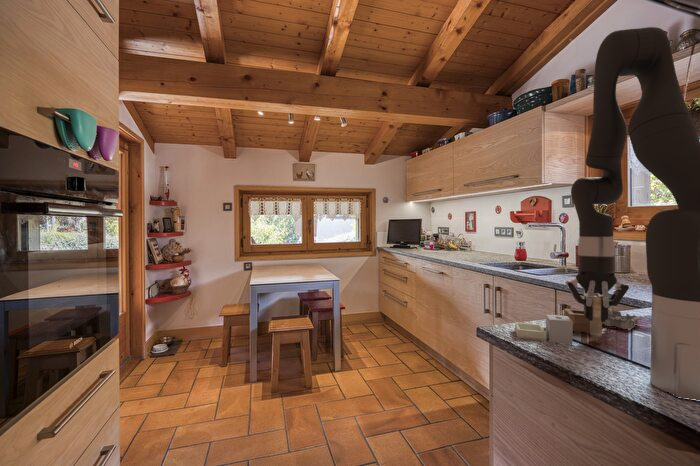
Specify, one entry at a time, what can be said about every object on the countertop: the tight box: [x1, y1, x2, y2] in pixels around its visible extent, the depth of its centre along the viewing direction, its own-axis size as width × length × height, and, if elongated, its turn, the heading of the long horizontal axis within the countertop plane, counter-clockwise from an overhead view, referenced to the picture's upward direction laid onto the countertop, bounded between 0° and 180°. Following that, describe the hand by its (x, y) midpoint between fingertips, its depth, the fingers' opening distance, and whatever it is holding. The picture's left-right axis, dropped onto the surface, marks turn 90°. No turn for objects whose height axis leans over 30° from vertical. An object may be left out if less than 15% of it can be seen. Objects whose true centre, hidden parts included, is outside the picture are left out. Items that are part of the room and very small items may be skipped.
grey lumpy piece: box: [602, 307, 641, 330], centre depth 96 cm, size 11×8×4 cm
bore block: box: [563, 308, 590, 334], centre depth 92 cm, size 6×6×5 cm
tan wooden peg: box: [589, 295, 603, 338], centre depth 83 cm, size 2×2×10 cm
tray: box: [514, 321, 547, 342], centre depth 87 cm, size 7×7×2 cm
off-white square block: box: [545, 314, 573, 346], centre depth 84 cm, size 5×5×6 cm
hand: (595, 320), depth 83 cm, fingers closed on tan wooden peg, 2 cm apart
